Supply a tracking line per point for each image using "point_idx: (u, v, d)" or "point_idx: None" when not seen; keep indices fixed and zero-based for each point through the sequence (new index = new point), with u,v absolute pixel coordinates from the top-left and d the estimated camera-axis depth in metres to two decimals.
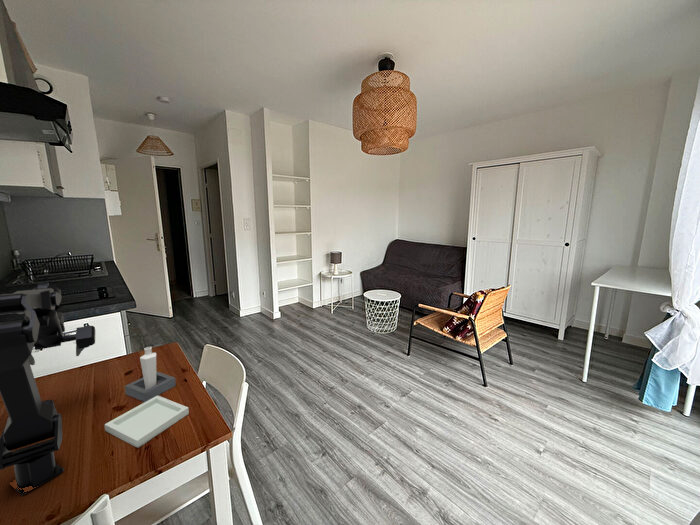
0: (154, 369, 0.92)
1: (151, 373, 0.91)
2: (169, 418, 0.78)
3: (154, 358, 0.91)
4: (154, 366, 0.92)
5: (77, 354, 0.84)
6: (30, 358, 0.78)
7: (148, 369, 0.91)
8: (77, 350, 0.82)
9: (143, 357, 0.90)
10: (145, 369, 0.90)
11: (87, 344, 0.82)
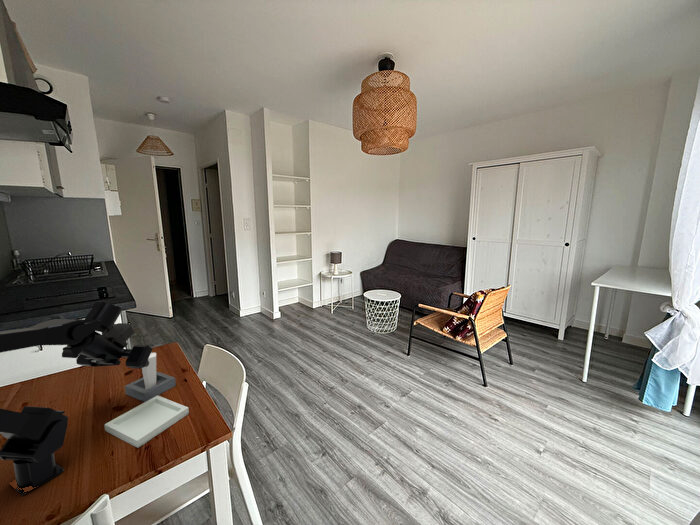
0: (154, 369, 0.92)
1: (151, 373, 0.91)
2: (169, 418, 0.78)
3: (154, 358, 0.91)
4: (154, 366, 0.92)
5: (143, 366, 0.84)
6: None
7: (148, 369, 0.91)
8: None
9: None
10: (145, 369, 0.90)
11: (136, 367, 0.77)
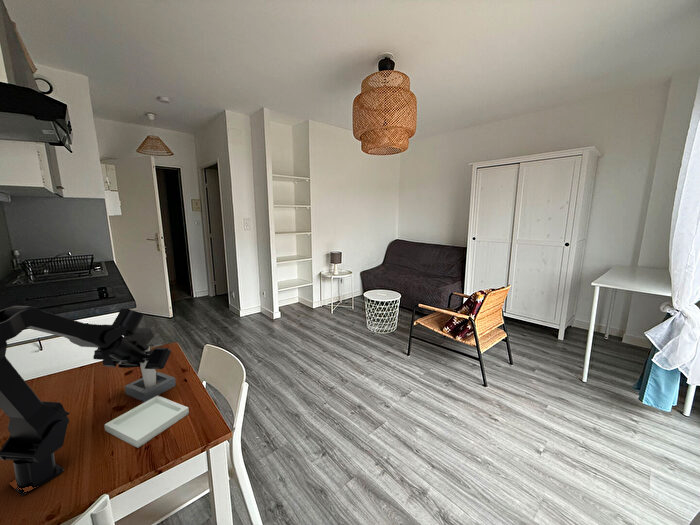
0: (153, 369, 0.92)
1: (150, 373, 0.91)
2: (169, 418, 0.78)
3: None
4: None
5: None
6: (139, 363, 0.91)
7: None
8: None
9: None
10: (144, 369, 0.90)
11: (156, 368, 0.85)
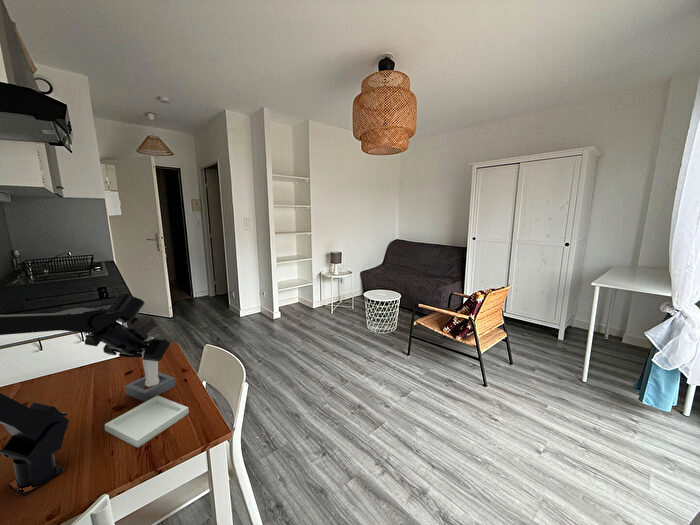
0: (154, 361, 0.86)
1: (151, 365, 0.86)
2: (169, 418, 0.78)
3: None
4: None
5: None
6: (141, 353, 0.86)
7: (148, 360, 0.85)
8: None
9: None
10: (145, 360, 0.85)
11: (153, 360, 0.79)
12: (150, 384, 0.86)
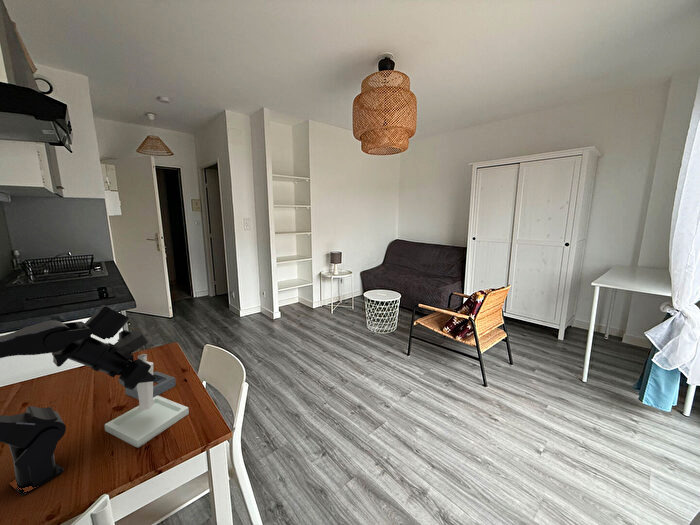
0: (145, 383, 0.76)
1: (142, 387, 0.75)
2: (169, 418, 0.78)
3: None
4: None
5: None
6: None
7: None
8: None
9: None
10: None
11: None
12: (141, 408, 0.76)
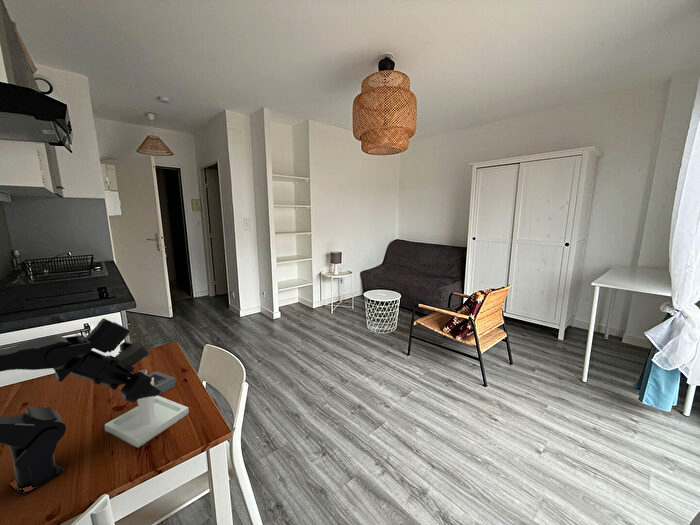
0: (146, 398, 0.76)
1: (142, 403, 0.76)
2: (169, 418, 0.78)
3: None
4: None
5: None
6: None
7: None
8: None
9: None
10: None
11: None
12: (142, 423, 0.77)
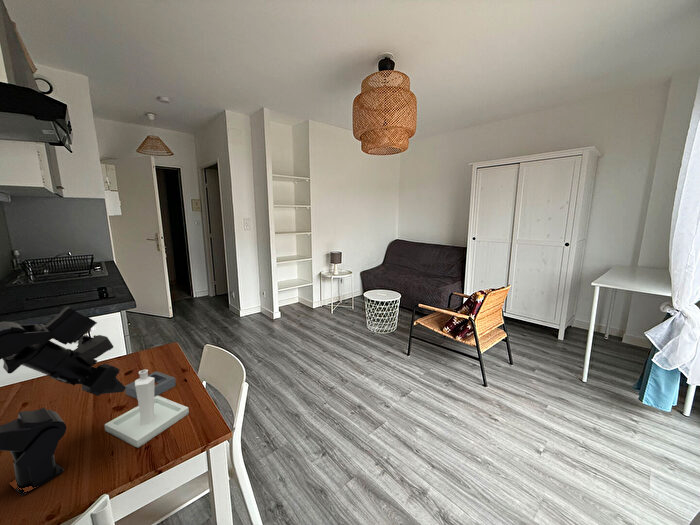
0: (146, 398, 0.76)
1: (143, 402, 0.76)
2: (169, 418, 0.78)
3: (146, 386, 0.75)
4: (146, 395, 0.76)
5: None
6: None
7: (139, 397, 0.75)
8: None
9: (136, 381, 0.76)
10: (137, 396, 0.76)
11: (92, 393, 0.62)
12: (142, 423, 0.77)
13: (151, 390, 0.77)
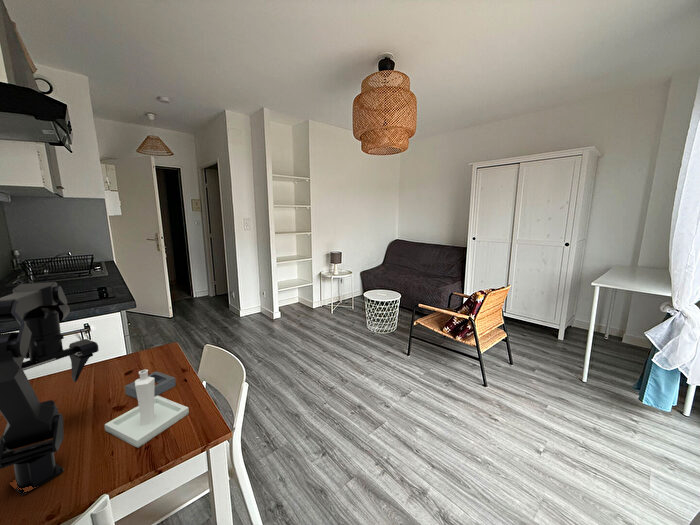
0: (146, 398, 0.76)
1: (143, 402, 0.76)
2: (169, 418, 0.78)
3: (146, 386, 0.75)
4: (146, 395, 0.76)
5: (77, 375, 0.75)
6: None
7: (139, 397, 0.75)
8: (80, 363, 0.74)
9: (136, 381, 0.76)
10: (137, 396, 0.76)
11: (92, 350, 0.76)
12: (142, 423, 0.77)
13: (151, 390, 0.77)
